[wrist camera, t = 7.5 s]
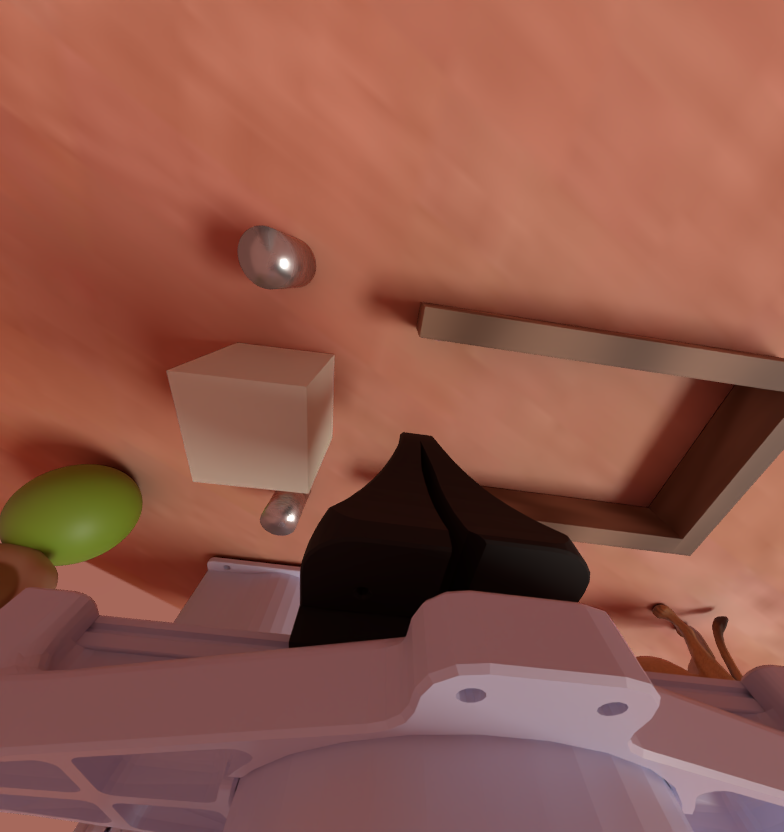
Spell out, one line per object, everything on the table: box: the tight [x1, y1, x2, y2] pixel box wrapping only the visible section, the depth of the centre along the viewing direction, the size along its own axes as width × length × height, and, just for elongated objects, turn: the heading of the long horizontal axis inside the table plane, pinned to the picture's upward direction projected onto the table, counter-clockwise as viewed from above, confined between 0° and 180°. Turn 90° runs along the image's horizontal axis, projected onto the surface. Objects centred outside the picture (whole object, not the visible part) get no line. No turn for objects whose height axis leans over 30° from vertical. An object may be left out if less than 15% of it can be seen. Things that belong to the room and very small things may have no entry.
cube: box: [166, 343, 335, 494], centre depth 14 cm, size 5×5×5 cm
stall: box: [417, 302, 784, 556], centre depth 15 cm, size 18×11×2 cm, turn 82°
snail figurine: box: [0, 464, 142, 609], centre depth 13 cm, size 5×6×12 cm
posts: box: [238, 226, 316, 535], centre depth 14 cm, size 2×15×3 cm, turn 172°
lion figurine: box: [636, 605, 743, 681], centre depth 20 cm, size 15×5×9 cm, turn 106°
